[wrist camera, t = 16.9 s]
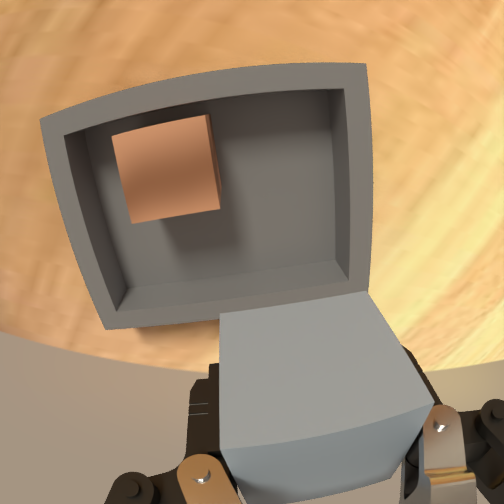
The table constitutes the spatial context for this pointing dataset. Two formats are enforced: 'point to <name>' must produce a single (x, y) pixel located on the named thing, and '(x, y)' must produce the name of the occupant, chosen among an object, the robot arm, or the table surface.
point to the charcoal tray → (225, 194)
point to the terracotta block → (169, 169)
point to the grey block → (315, 398)
